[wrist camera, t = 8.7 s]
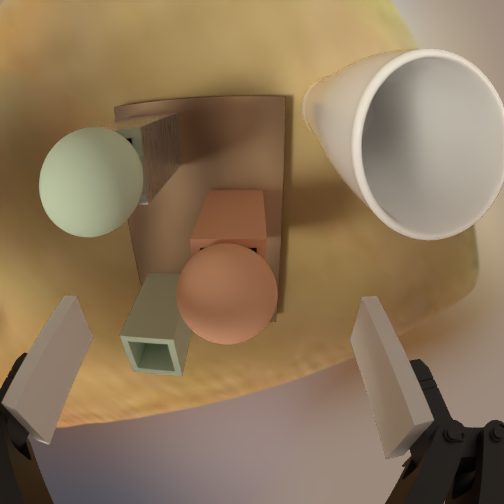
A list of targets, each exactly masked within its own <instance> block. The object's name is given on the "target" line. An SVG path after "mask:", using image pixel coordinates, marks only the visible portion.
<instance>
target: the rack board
mask: <svg viewBox="0 0 504 504" xmlns="http://www.w3.org/2000/svg"><path fill="white" fill-rule="evenodd" d="M114 112H115V122H116V121H119V120H122V119H126V118H131V117H139V116H148V115H158V114H168V113H178V115H179V135H180V152H181V167H180V168H179V169H178V170H177V171H176V172H175V173H174V175H173V176H172V177H171V178H170V179H169V180H168V182H167V183H166V184H165V185H164V186H163V188H162V189H161V190H160V191H159V192H158V194H157V195H156V196H155V197H154V198H153V200H152V201H151V202H150V203H149V205H137V206H136V208H135V210H134V211H133V213H132V214H131V216H130V217H129V218H128V223H129V229H130V234H131V239H132V245H133V250H134V254H135V259H136V264H137V269H138V273H139V278H140V282H141V286H143V284H144V281H145V279H146V277H147V275H148V273H177V274H180V273H181V271H182V269H183V267H184V266H185V264H186V263H187V262H188V261H189V259H190V258H191V257H192V255H191V246H190V237H191V235H192V232H193V230H194V227H195V224H196V222H197V219H198V217H199V214H200V212H201V209H202V207H203V204H204V202H205V199H206V197H207V194H208V192H209V190H263V198H264V210H265V222H266V235H267V254H266V263H267V264H268V265H269V267H270V269H271V270H272V272H273V274H274V277H275V280H276V284H277V300H278V283H279V265H280V245H281V224H282V200H283V172H284V138H285V97H284V96H218V97H198V98H184V99H172V100H162V101H153V102H144V103H137V104H129V105H123V106H117V107H114ZM276 316H277V304H276V308H275V311H274V314H273V316H272V318H271V320H270V321H269V322H276Z"/></svg>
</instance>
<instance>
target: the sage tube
mask: <svg viewBox="0 0 504 504" xmlns="http://www.w3.org/2000/svg"><path fill="white" fill-rule="evenodd" d="M179 276H180V274H177V273H148V275H147V277H146V279H145V281H144V284H143V286H142V288H141V290H140V292H139V294H138V296H137V298H136V300H135V303H134V305H133V307H132V309H131V311H130V313H129V316H128V318H127V320H126V322H125V325H124V327H123V329H122V331H121V334H120V338H121V341H122V343H123V346H124V349H125V351H126V354H127V356H128V359H129V361H130V364H131V366H132V369H133V371H135V372H144V373H154V374H165V375H177V376H183V371H184V366H185V361H186V356H187V351H188V346H189V342H190V337H191V332H192V330H191V329H190V328H189V327H188V326H187V324H186V323H185V322H184V320H183V318H182V316H181V314H180V312H179V309H178V305H177V300H176V287H177V282H178V278H179Z"/></svg>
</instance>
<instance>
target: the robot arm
mask: <svg viewBox="0 0 504 504" xmlns="http://www.w3.org/2000/svg"><path fill="white" fill-rule="evenodd" d="M92 340H93V336H92V333H91V331H90V328H89V326H88V324H87V321H86V319H85V316H84V314H83V311H82V308H81V306H80V303H79V301H78V298H77V296H67V295H64V297H63V298H62V300H61V301H60V303H59V304H58V306H57V307H56V309H55V310H54V312H53V313H52V315H51V316H50V318H49V319H48V321H47V323H46V324H45V326H44V327H43V329H42V331H41V332H40V334H39V335H38V337H37V339H36V340H35V342H34V344H33V345H32V347H31V349H30V351H29V352H28V353H23V354H22V355H21V356H20V357H19V358H18V359H17V360H16V362H15V363H14V365H13V367H12V370H10V372H9V374H8V377H7V378H6V379H5V381H4V383H3V385H2V387H1V389H0V504H54V503H53V501H52V499H51V496H50V494H49V492H48V490H47V487H46V485H45V482H44V480H43V477H42V475H41V472H40V469H39V467H38V464H37V461H36V458H35V455H34V452H33V449H32V446H31V443H30V441H29V439H28V438H27V437H28V435H29V434H30V435H31V436H32V437H33V438H34V439H35V440H37V441H40V442H43V443H46V444H50V441H51V439H52V436H53V433H54V430H55V427H56V425H57V422H58V419H59V417H60V414H61V412H62V409H63V407H64V404H65V401H66V399H67V397H68V394H69V392H70V389H71V387H72V384H73V382H74V380H75V377H76V375H77V373H78V371H79V368H80V366H81V364H82V361H83V359H84V357H85V355H86V353H87V351H88V348H89V346H90V344H91V342H92ZM350 342H351V345H352V348H353V351H354V354H355V357H356V360H357V363H358V365H359V369H360V372H361V376H362V379H363V382H364V385H365V388H366V392H367V395H368V398H369V401H370V405H371V408H372V412H373V415H374V418H375V422H376V425H377V429H378V432H379V436H380V440H381V443H382V447H383V451H384V454H385V458H386V459H390V458H394V457H398V456H402V455H404V454H405V453H406V452H407V451H408V450H409V449H410V452H411V455H412V456H411V457H410V458H409V459H408V460H407V461H406V462H405V463H404V464H403V465H402V466H403V467H405V468H404V470H403V472H402V474H401V476H400V478H399V480H398V482H397V484H396V485H395V487H394V489H393V491H392V493H391V494H390V496H389V498H388V500H387V501H386V503H385V504H444V501H445V504H504V423H503V422H501V421H498V420H492V421H490V422H489V423H487V424H486V426H485V427H483V428H468V427H464V426H463V425H462V424H461V423H460V422H458V421H456V420H453V419H452V417H451V416H450V413H449V411H448V409H447V407H446V404H445V402H444V400H443V398H442V395H441V393H440V391H439V389H438V388H437V384H436V382H435V380H433V376H432V374H431V372H430V370H429V368H428V367H427V366H426V365H425V364H424V363H423V362H422V361H421V360H420V359H418V360H411V361H409V360H408V358H407V356H406V353H405V351H404V349H403V347H402V345H401V343H400V341H399V339H398V337H397V335H396V332H395V330H394V328H393V326H392V324H391V322H390V320H389V318H388V316H387V314H386V312H385V310H384V308H383V307H382V305H381V303H380V301H379V299H378V297H377V296H368V297H361V301H360V305H359V309H358V313H357V317H356V321H355V324H354V328H353V332H352V335H351V339H350Z"/></svg>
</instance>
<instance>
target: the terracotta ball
mask: <svg viewBox="0 0 504 504" xmlns="http://www.w3.org/2000/svg"><path fill="white" fill-rule="evenodd" d="M176 300H177V305H178V309H179V312H180V314H181V316H182V318H183V320H184V322H185V323H186V324H187V326H188V327H189V328H190V329H191V330H192V331H193V332H194V333H196V334H197V335H198V336H200V337H202V338H203V339H205V340H207V341H210V342H213V343H217V344H237V343H241V342H244V341H247V340H249V339H251V338H253V337H254V336H256V335H257V334H258V333H260V332H261V331H262V330H263V329H264V328H265V327H266V325H267V324H268V323H269V321H270V320H271V318H272V316H273V314H274V311H275V308H276V304H277V284H276V280H275V277H274V274H273V272H272V270H271V269H270V267H269V265H268V264H267V263H266V261H265V260H264V259H263V258H262V257H261V256H260V255H258V254H257V253H256V252H254V251H253V250H251V249H249V248H247V247H244V246H241V245H238V244H231V243H222V244H216V245H212V246H209V247H206V248H204V249H202V250H201V251H199V252H197V253H196V254H195V255H194V256H192V257H191V258H190V259H189V261H188V262H187V263H186V264H185V266H184V267H183V269H182V271H181V273H180V276H179V278H178V282H177V287H176Z"/></svg>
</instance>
